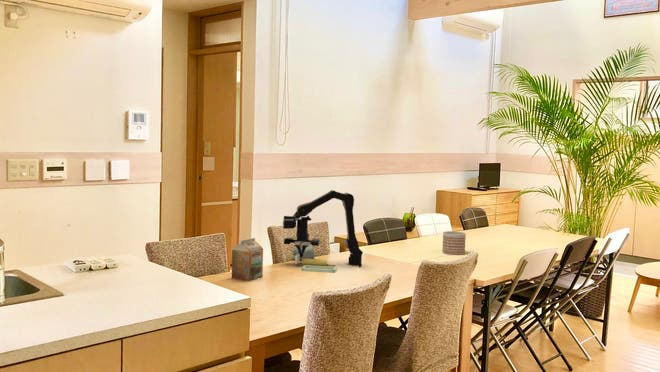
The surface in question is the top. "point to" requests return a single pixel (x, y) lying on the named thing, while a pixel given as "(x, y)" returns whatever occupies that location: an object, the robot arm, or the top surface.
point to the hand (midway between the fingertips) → (301, 257)
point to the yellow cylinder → (314, 262)
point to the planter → (454, 243)
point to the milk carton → (247, 260)
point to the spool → (305, 253)
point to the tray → (319, 268)
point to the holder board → (311, 265)
